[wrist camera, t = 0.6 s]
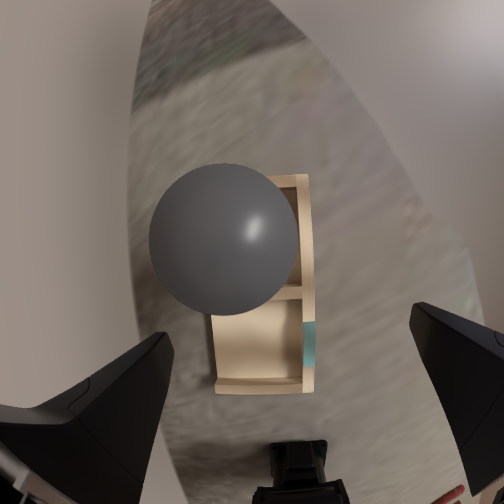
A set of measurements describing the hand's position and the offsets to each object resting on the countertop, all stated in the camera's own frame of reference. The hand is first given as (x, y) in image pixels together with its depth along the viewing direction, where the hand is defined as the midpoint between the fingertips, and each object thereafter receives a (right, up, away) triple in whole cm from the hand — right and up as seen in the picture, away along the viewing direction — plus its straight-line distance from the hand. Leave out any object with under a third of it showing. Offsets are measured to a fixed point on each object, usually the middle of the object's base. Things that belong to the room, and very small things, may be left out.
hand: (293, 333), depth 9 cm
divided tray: (-1, -1, +16) cm, 16 cm away
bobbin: (-1, +4, +14) cm, 15 cm away
